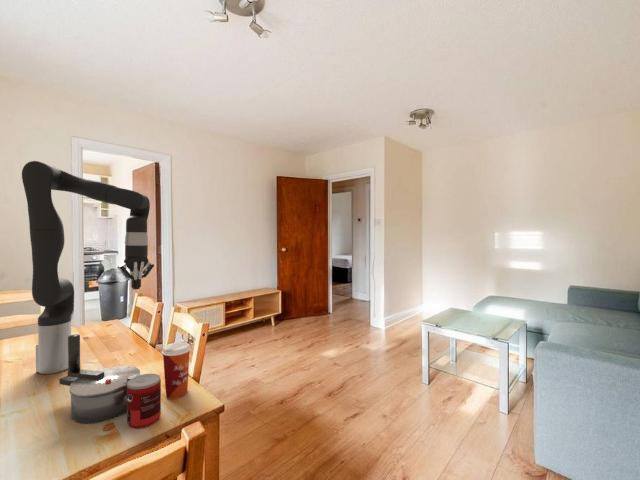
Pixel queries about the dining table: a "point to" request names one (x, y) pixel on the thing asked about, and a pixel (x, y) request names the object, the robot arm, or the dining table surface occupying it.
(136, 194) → the robot arm
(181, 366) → the coffee cup
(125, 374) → the lid
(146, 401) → the canned food
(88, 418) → the pot
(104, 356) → the dining table surface
